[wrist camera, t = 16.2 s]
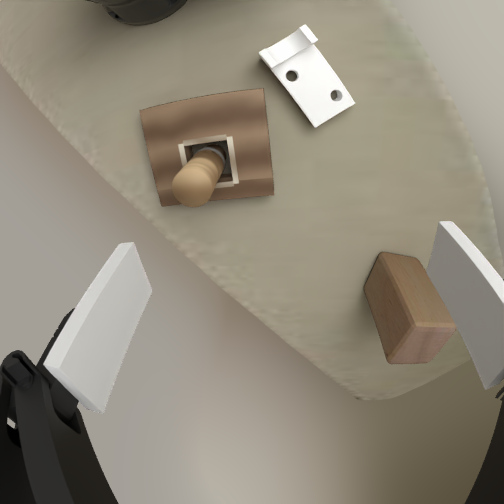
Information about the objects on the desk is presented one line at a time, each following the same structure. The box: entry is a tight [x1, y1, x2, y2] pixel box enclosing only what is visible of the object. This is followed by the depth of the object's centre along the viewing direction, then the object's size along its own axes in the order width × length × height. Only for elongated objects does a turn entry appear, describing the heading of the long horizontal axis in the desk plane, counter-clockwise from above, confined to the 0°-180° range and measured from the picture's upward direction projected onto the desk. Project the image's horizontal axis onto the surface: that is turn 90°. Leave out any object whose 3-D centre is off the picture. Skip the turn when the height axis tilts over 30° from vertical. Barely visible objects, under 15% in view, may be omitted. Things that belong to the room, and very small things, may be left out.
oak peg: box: [172, 144, 226, 207], centre depth 38 cm, size 5×5×14 cm
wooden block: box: [364, 252, 457, 364], centre depth 46 cm, size 10×10×20 cm
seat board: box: [140, 88, 274, 206], centre depth 41 cm, size 16×18×4 cm
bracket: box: [259, 25, 355, 128], centre depth 33 cm, size 13×7×8 cm, turn 37°
